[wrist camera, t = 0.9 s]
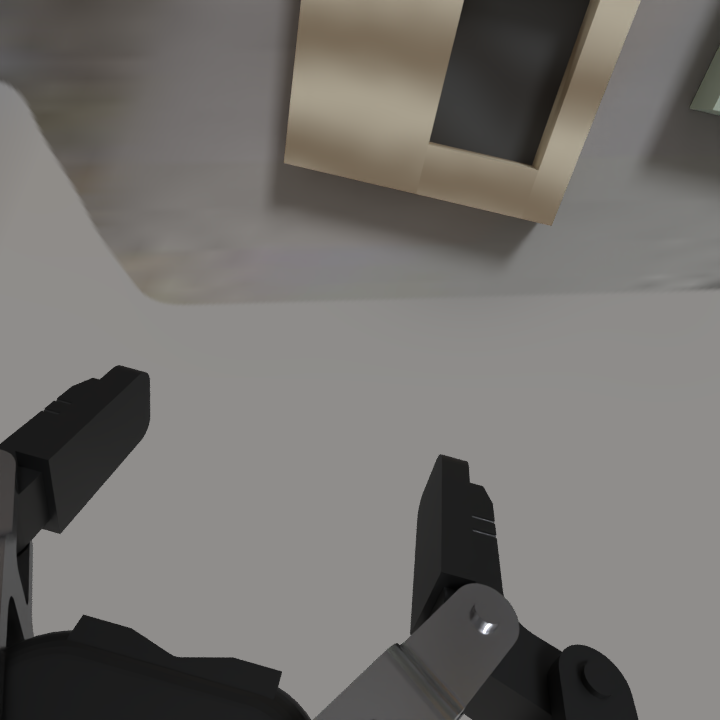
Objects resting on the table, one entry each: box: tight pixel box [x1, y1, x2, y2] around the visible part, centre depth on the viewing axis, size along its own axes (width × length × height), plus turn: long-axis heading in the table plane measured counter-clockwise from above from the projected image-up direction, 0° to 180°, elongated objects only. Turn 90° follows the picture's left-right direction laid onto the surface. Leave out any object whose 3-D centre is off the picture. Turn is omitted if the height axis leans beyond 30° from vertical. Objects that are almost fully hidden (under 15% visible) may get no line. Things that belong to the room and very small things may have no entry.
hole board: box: [284, 0, 641, 226], centre depth 29 cm, size 16×18×3 cm
